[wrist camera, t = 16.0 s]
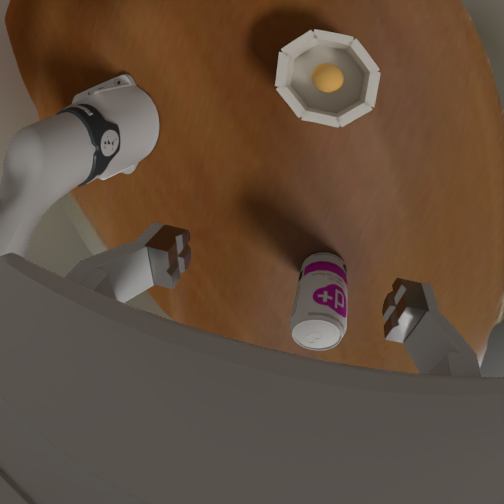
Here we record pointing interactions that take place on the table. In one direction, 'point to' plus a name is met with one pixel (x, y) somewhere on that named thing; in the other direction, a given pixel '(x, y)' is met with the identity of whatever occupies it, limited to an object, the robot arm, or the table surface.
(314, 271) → the supplement can
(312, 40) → the bowl
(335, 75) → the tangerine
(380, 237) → the table surface
